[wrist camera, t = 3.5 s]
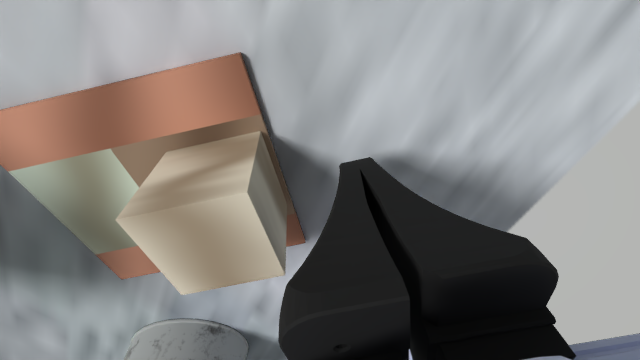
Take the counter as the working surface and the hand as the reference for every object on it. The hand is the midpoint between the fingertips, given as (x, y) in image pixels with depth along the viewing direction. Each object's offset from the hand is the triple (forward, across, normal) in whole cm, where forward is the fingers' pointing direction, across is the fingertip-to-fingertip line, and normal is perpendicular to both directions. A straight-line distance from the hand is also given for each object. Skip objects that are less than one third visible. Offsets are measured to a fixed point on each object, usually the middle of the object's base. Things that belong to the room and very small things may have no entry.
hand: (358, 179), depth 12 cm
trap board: (+2, +10, 0) cm, 10 cm away
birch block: (+2, +6, 0) cm, 6 cm away
